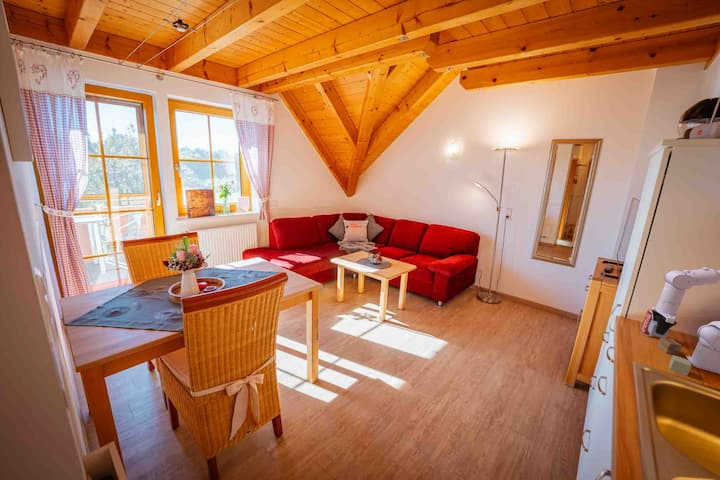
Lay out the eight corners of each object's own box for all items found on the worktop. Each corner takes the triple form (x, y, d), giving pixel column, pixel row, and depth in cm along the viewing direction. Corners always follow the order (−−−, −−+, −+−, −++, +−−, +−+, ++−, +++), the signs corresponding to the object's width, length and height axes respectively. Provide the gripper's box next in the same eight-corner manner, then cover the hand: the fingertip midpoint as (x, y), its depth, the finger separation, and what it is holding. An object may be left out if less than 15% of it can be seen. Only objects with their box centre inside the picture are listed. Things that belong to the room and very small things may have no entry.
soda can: (636, 330, 136) (645, 307, 133) (647, 331, 136) (656, 308, 133) (646, 337, 131) (656, 313, 128) (658, 337, 131) (667, 314, 128)
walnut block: (668, 348, 124) (672, 339, 123) (677, 354, 120) (682, 345, 119) (656, 346, 125) (660, 337, 123) (665, 353, 120) (669, 344, 119)
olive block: (685, 370, 110) (689, 360, 109) (686, 376, 107) (691, 366, 106) (668, 364, 113) (672, 354, 112) (669, 370, 110) (674, 360, 109)
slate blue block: (647, 329, 120) (651, 320, 119) (662, 333, 118) (666, 323, 117) (650, 334, 116) (654, 324, 115) (665, 338, 114) (669, 328, 113)
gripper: (651, 291, 121) (640, 319, 125) (661, 304, 109) (648, 335, 113) (674, 296, 117) (662, 325, 121) (687, 310, 105) (674, 342, 109)
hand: (657, 331), depth 117 cm, fingers closed on slate blue block, 4 cm apart
